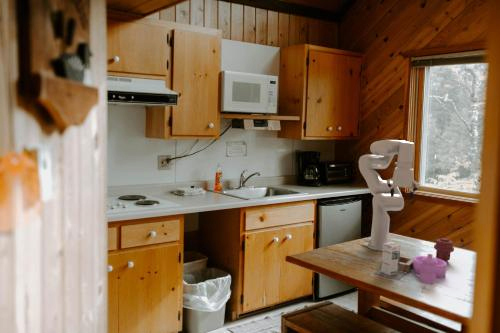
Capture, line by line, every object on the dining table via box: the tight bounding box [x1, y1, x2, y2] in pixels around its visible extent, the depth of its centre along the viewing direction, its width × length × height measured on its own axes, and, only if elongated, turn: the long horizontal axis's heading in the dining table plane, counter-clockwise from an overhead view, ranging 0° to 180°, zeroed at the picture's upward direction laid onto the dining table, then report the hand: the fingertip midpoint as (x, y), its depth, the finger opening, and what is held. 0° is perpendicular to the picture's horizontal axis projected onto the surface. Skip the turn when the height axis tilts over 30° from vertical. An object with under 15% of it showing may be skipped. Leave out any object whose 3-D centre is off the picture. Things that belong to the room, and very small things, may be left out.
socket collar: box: [380, 255, 414, 274], centre depth 247 cm, size 14×14×4 cm
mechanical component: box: [433, 237, 455, 263], centre depth 260 cm, size 12×10×10 cm
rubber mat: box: [373, 267, 407, 281], centre depth 235 cm, size 12×12×1 cm
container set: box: [411, 253, 447, 285], centre depth 234 cm, size 25×15×13 cm, turn 157°
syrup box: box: [381, 241, 401, 275], centre depth 235 cm, size 6×6×14 cm
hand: (401, 197), depth 256 cm, fingers open, 9 cm apart
